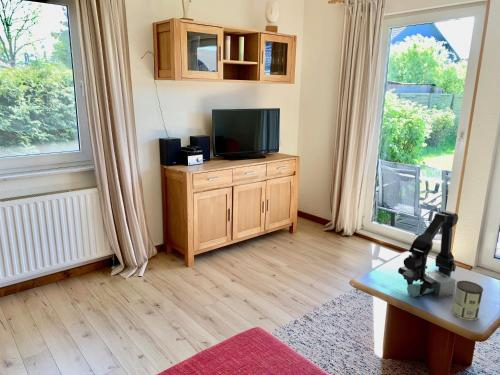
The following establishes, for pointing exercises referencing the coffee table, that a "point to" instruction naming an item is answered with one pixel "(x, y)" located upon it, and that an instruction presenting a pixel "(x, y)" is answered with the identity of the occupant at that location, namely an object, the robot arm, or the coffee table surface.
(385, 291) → the coffee table surface
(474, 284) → the coffee can
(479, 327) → the coffee table surface
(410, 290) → the pale green cylinder
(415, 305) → the coffee table surface
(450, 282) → the housing
